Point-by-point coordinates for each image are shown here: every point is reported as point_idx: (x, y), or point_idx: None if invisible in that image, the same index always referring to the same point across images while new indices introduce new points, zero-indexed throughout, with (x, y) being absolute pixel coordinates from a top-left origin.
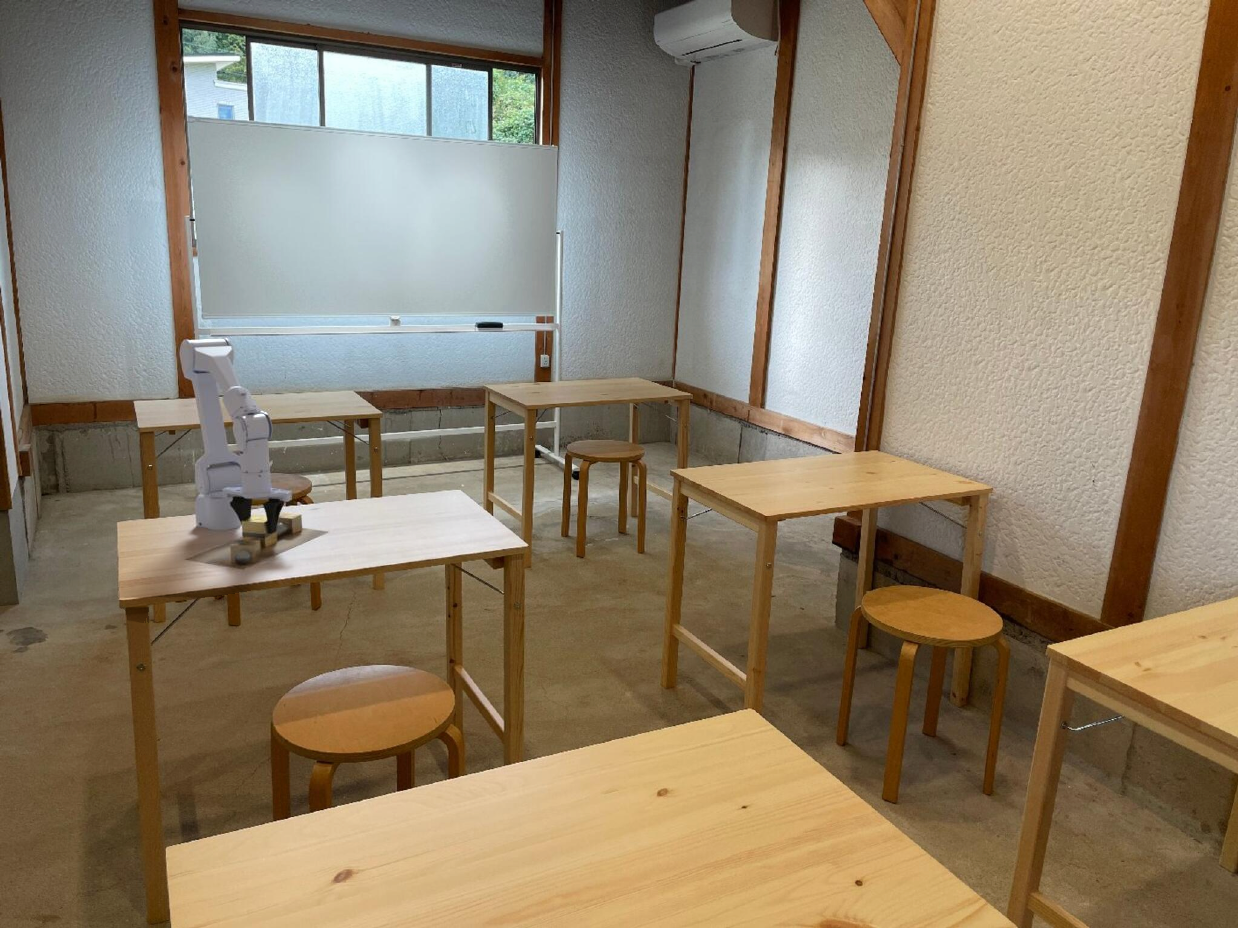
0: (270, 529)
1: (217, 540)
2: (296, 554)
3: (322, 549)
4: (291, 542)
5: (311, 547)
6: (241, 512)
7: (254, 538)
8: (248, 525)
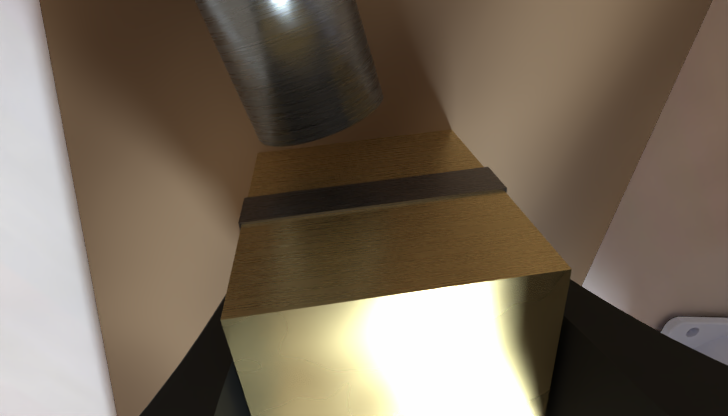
0: (218, 306)
1: (704, 272)
2: (78, 223)
3: (6, 344)
4: (191, 328)
5: (104, 348)
6: (658, 398)
7: (315, 131)
8: (451, 248)
